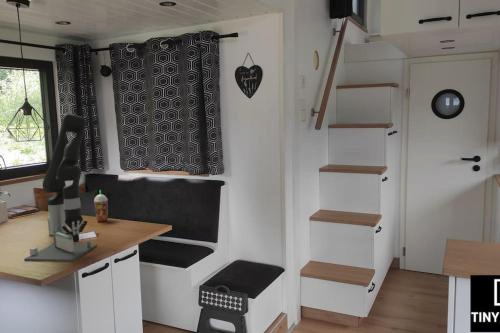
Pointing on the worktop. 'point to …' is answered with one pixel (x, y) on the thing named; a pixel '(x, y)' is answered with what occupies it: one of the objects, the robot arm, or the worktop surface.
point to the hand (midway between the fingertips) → (75, 241)
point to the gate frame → (59, 252)
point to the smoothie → (101, 207)
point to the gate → (64, 242)
